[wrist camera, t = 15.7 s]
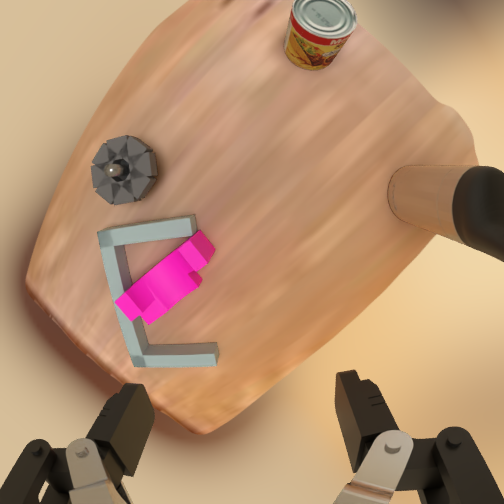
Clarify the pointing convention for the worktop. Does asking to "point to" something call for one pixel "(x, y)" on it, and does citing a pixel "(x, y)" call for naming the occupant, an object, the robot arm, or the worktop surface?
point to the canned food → (318, 31)
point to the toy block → (167, 280)
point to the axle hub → (117, 170)
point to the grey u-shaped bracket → (121, 281)
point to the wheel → (139, 165)
